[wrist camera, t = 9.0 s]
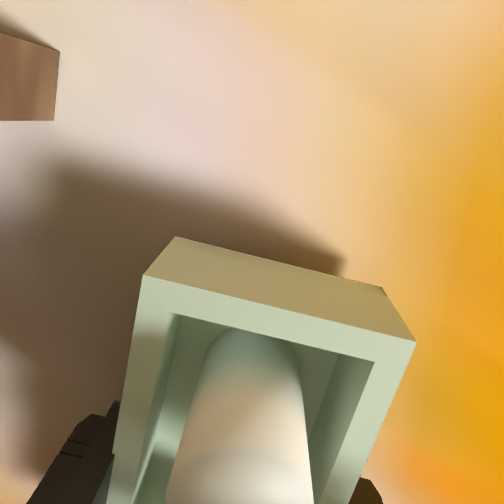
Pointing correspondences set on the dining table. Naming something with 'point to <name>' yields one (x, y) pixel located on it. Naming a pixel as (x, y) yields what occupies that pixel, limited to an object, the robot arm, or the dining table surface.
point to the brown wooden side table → (27, 80)
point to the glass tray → (268, 308)
